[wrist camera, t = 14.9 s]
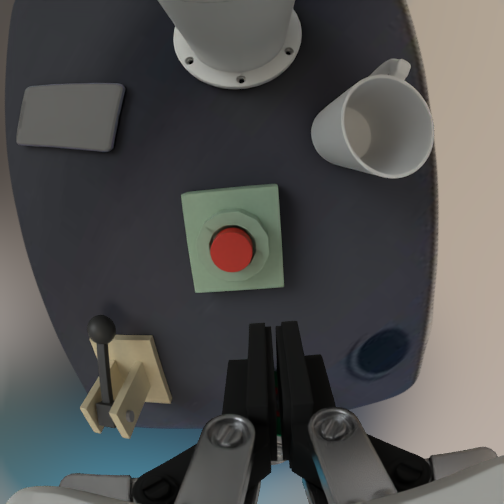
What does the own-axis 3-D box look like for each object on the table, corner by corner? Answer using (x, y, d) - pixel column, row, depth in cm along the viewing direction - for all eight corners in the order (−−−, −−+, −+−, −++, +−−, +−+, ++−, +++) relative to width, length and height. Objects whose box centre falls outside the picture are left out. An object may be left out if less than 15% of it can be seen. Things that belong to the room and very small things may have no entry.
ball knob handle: (96, 315, 32) (81, 314, 29) (120, 315, 32) (105, 314, 29) (106, 418, 30) (92, 425, 26) (129, 422, 30) (117, 430, 26)
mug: (357, 179, 29) (414, 195, 17) (297, 151, 28) (324, 149, 17) (390, 95, 26) (454, 72, 14) (333, 65, 25) (374, 20, 14)
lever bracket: (93, 333, 35) (54, 383, 25) (152, 335, 35) (122, 394, 25) (117, 393, 39) (92, 445, 28) (172, 398, 38) (154, 456, 28)
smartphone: (110, 153, 27) (14, 145, 26) (114, 153, 28) (19, 145, 27) (124, 82, 25) (24, 86, 24) (128, 84, 26) (29, 87, 25)
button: (210, 229, 27) (207, 234, 25) (250, 225, 27) (250, 230, 25) (215, 266, 28) (212, 274, 26) (254, 264, 28) (254, 271, 26)
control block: (186, 192, 30) (175, 197, 26) (276, 183, 29) (279, 187, 25) (198, 284, 33) (191, 301, 29) (282, 278, 32) (285, 295, 28)
